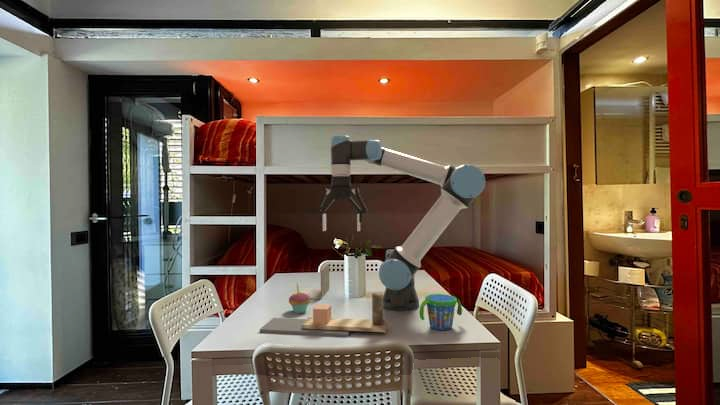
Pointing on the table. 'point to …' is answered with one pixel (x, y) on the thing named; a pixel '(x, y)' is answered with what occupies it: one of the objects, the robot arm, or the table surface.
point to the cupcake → (299, 301)
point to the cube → (321, 314)
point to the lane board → (298, 328)
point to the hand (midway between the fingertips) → (341, 230)
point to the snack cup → (440, 310)
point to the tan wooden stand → (356, 320)
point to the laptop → (320, 292)
